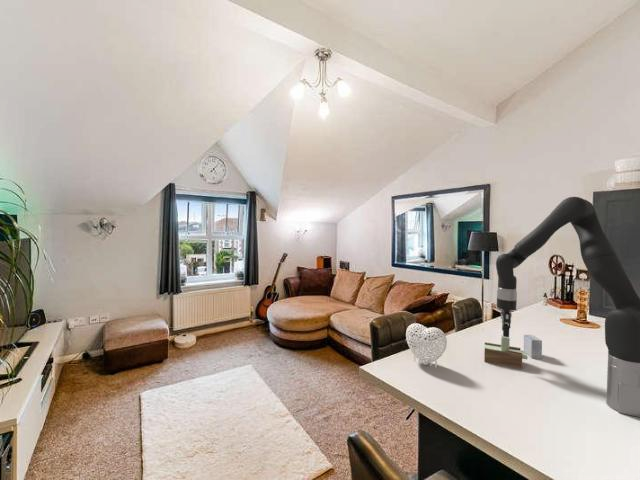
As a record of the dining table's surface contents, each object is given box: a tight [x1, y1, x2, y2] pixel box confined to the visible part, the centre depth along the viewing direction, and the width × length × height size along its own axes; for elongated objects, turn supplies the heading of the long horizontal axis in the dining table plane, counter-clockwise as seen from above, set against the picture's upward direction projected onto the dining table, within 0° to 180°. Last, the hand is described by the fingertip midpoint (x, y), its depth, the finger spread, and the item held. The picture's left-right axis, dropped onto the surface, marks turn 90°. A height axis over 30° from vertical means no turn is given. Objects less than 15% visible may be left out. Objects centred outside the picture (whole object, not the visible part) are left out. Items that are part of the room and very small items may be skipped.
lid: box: [484, 334, 529, 360], centre depth 134 cm, size 6×16×7 cm, turn 61°
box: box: [483, 341, 523, 370], centre depth 135 cm, size 9×14×6 cm, turn 61°
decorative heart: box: [405, 322, 448, 369], centre depth 131 cm, size 18×11×17 cm, turn 45°
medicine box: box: [523, 334, 543, 360], centre depth 142 cm, size 8×4×9 cm, turn 168°
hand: (505, 333), depth 134 cm, fingers open, 8 cm apart
